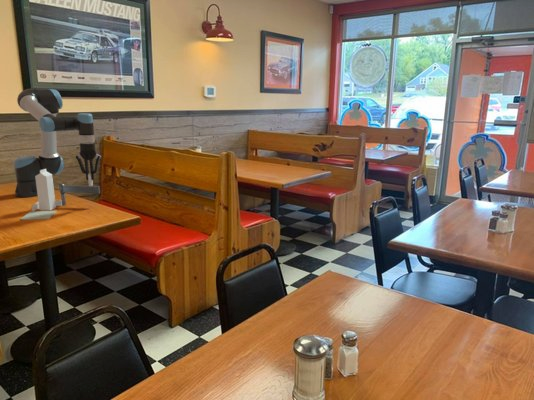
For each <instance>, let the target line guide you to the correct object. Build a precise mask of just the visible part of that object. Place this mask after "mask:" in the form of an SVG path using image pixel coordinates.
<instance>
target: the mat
mask: <svg viewBox="0 0 534 400" xmlns="http://www.w3.org/2000/svg"><path fill="white" fill-rule="evenodd" d="M57 212H58V210H50V211H49V210H39V211H37V210H35V211H32V210H31V211H29V212H28V213H26V214H25V215H24V216H22V217H21V218H20V221H24V220H25V221H26V220H28V221H29V220H31V221H33V220H49V219H51V217H53V216H54V215H55V214H56V213H57Z"/></svg>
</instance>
